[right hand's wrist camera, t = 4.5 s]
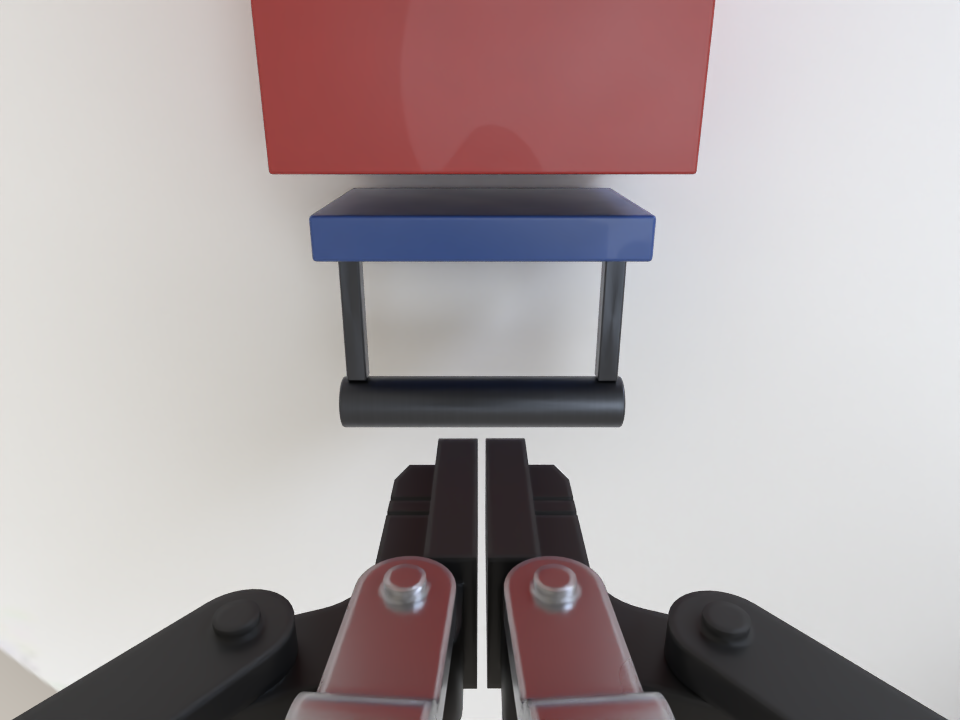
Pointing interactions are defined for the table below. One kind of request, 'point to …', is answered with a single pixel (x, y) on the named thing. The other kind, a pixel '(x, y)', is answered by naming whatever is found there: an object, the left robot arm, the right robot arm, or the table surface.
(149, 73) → the table surface
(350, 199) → the drawer
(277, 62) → the cabinet
